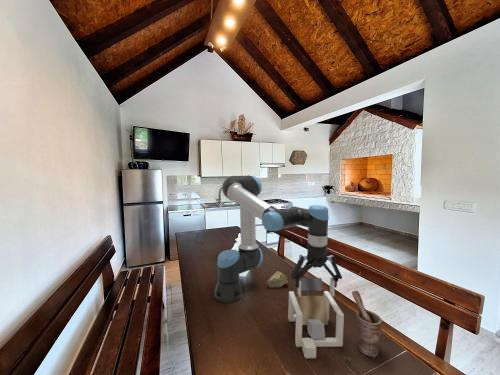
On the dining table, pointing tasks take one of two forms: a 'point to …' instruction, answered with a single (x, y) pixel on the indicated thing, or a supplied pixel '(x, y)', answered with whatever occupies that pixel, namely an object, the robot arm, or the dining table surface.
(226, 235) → the dining table surface
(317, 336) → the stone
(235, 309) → the dining table surface
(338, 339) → the frame
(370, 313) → the mortar and pestle
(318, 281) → the trapdoor
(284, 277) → the rock
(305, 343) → the pumice block
